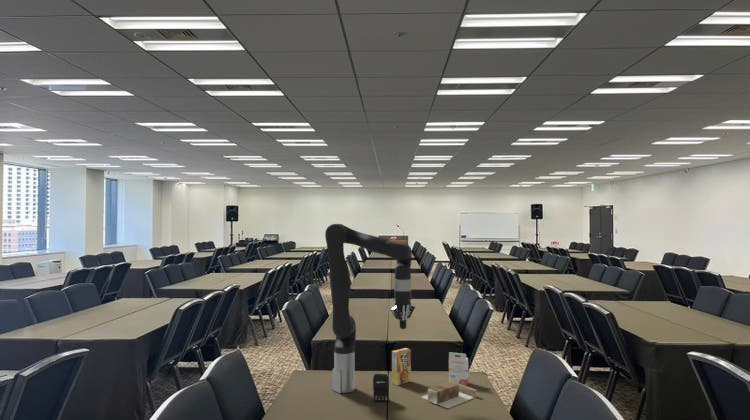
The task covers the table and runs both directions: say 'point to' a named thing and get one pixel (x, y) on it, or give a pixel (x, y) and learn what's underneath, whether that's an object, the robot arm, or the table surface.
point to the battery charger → (381, 387)
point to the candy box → (401, 366)
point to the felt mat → (453, 400)
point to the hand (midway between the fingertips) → (403, 328)
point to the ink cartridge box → (458, 368)
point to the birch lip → (467, 390)
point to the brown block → (443, 392)
